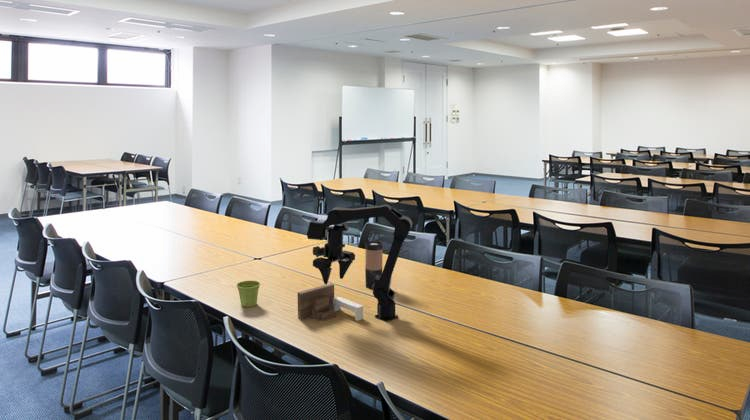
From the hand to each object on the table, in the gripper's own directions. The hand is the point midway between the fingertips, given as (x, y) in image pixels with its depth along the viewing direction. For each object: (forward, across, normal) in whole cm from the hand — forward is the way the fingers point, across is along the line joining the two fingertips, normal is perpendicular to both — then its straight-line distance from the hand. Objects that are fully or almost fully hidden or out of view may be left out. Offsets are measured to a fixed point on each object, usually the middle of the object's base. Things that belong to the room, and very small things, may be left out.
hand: (333, 281), depth 197 cm
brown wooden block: (+13, +4, -2) cm, 14 cm away
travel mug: (+13, -37, -6) cm, 39 cm away
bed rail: (+13, -3, +5) cm, 14 cm away
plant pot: (+15, +12, -33) cm, 38 cm away
